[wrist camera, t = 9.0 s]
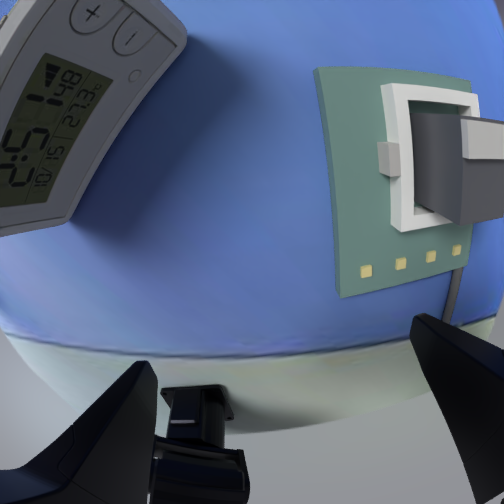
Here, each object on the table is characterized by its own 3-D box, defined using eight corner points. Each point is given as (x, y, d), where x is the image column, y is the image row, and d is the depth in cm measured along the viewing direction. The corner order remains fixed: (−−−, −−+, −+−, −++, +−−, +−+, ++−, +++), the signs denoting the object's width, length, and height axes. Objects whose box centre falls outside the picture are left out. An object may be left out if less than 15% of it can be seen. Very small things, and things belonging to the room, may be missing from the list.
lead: (442, 331, 25) (446, 337, 24) (435, 334, 25) (440, 340, 24) (463, 229, 20) (470, 234, 19) (456, 231, 20) (463, 235, 19)
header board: (459, 259, 21) (476, 273, 18) (335, 290, 21) (346, 310, 19) (460, 81, 14) (482, 80, 12) (313, 70, 15) (325, 61, 12)
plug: (454, 193, 17) (508, 219, 12) (410, 198, 17) (465, 229, 12) (452, 115, 15) (511, 122, 9) (406, 113, 15) (466, 115, 9)
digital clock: (65, 229, 18) (-24, 305, 9) (8, 152, 15) (-89, 187, 5) (225, 72, 15) (208, 0, 5) (146, -7, 11) (79, -85, 2)
